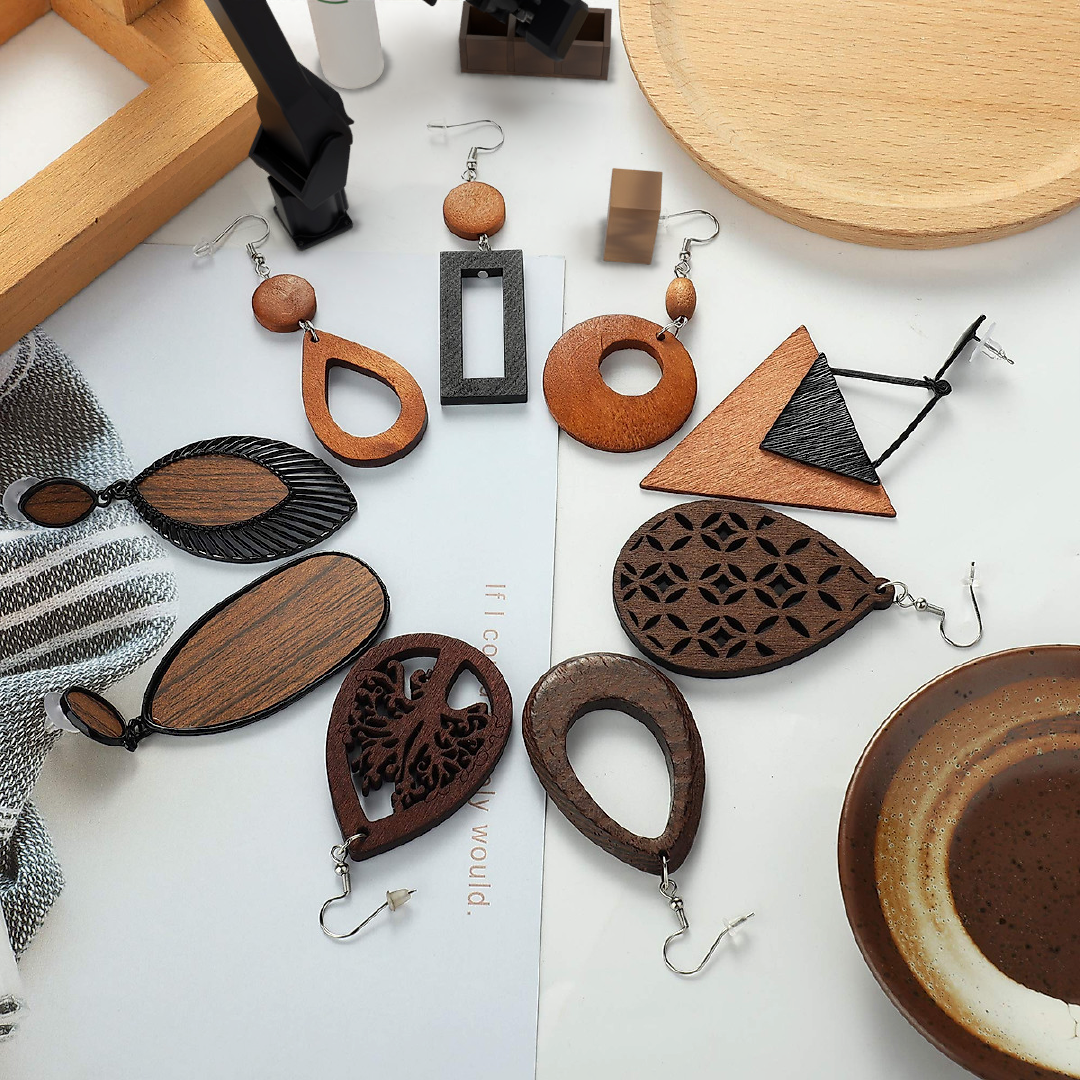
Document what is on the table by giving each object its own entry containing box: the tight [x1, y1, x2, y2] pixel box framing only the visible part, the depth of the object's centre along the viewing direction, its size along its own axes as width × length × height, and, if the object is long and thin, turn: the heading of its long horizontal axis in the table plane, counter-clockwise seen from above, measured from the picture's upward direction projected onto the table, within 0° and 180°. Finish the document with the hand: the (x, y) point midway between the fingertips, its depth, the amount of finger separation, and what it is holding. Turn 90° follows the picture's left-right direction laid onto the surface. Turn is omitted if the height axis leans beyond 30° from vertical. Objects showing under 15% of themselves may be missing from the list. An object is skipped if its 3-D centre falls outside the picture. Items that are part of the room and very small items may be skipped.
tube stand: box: [603, 167, 663, 265], centre depth 99 cm, size 5×5×8 cm
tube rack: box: [458, 0, 613, 81], centre depth 112 cm, size 17×6×4 cm, turn 87°
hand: (544, 12), depth 110 cm, fingers closed on test tube, 3 cm apart
